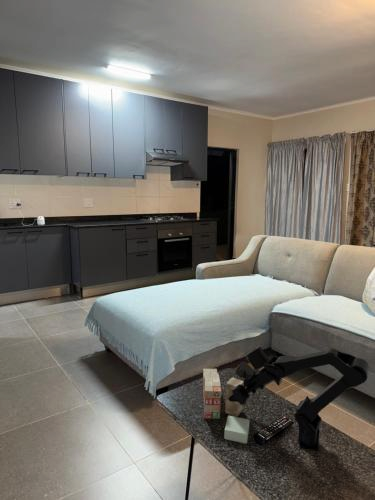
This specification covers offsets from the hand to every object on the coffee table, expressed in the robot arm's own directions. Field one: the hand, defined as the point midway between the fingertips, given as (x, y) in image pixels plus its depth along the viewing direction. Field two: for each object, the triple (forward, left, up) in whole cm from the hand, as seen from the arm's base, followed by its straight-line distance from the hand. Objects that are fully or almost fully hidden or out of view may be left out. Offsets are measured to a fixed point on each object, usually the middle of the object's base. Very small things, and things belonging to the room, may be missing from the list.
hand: (234, 393), depth 137 cm
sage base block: (-3, +12, -8) cm, 15 cm away
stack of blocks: (+10, -3, -8) cm, 13 cm away
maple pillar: (0, 0, -8) cm, 8 cm away
